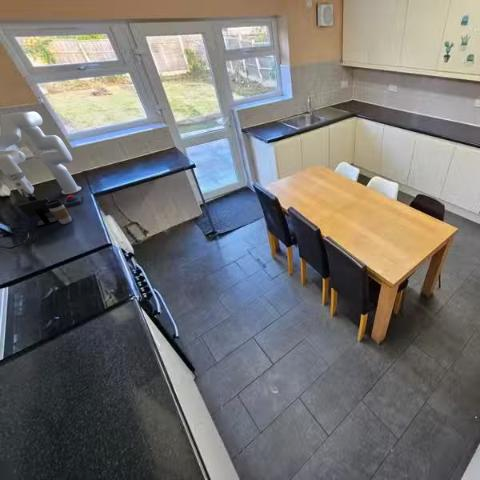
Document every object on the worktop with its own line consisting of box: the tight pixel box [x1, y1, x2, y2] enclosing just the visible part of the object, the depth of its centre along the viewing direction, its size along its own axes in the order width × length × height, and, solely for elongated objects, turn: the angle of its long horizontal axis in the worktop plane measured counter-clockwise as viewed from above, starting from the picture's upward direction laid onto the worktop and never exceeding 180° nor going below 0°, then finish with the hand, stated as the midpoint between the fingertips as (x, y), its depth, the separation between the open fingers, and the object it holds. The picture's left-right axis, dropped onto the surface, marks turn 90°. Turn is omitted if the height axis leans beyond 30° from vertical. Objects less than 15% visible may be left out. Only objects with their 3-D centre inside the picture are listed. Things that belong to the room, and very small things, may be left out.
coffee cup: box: [46, 199, 73, 225], centre depth 175 cm, size 8×8×15 cm
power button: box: [66, 194, 74, 199], centre depth 198 cm, size 4×4×2 cm
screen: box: [17, 197, 51, 218], centre depth 173 cm, size 2×14×10 cm, turn 124°
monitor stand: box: [35, 209, 59, 228], centre depth 176 cm, size 7×10×10 cm
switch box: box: [63, 194, 82, 208], centre depth 200 cm, size 11×9×4 cm
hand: (35, 202), depth 173 cm, fingers closed
